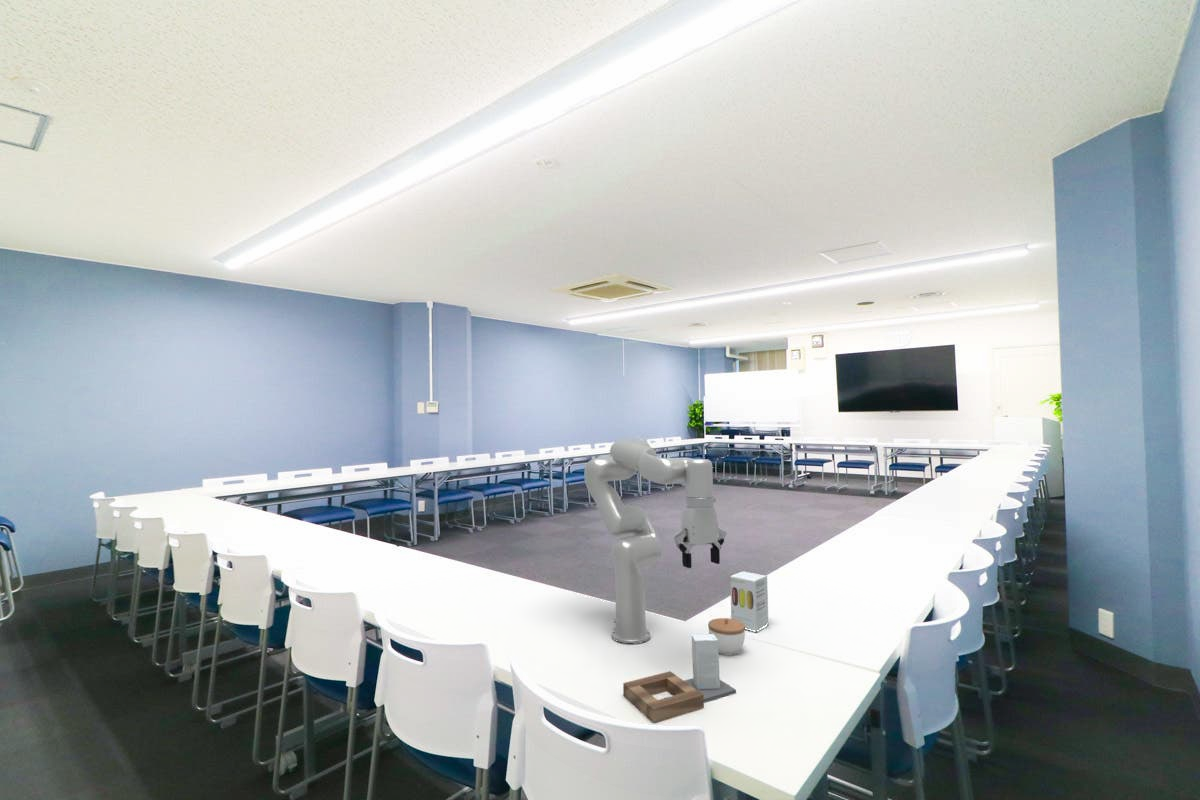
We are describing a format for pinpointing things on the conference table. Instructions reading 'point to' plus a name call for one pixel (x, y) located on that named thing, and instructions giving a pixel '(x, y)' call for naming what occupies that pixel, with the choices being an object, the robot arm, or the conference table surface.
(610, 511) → the robot arm
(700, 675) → the skincare box
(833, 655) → the conference table surface
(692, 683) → the pad
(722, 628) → the lidded jar
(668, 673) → the frame
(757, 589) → the supplement box
